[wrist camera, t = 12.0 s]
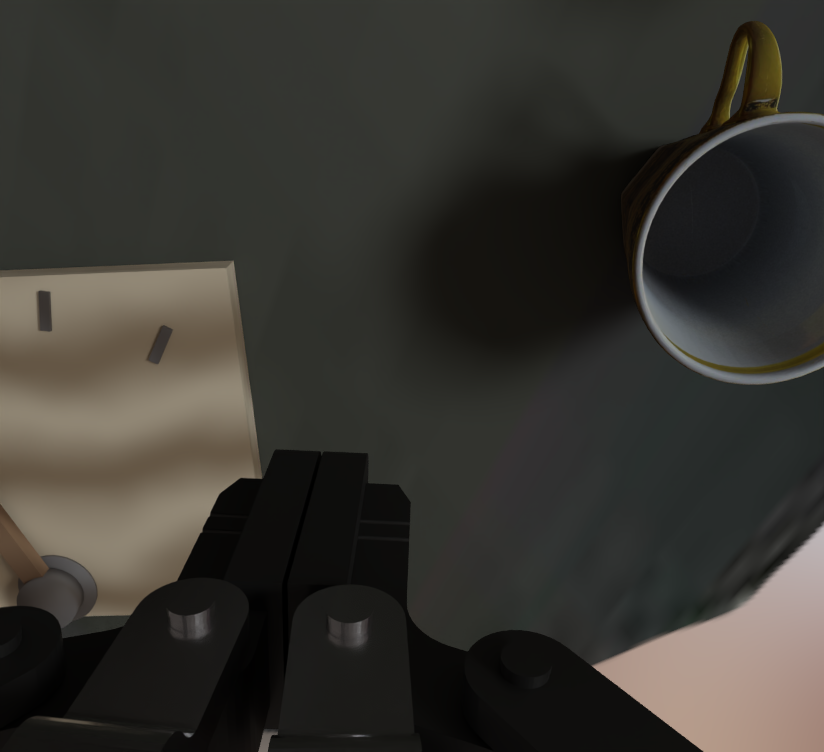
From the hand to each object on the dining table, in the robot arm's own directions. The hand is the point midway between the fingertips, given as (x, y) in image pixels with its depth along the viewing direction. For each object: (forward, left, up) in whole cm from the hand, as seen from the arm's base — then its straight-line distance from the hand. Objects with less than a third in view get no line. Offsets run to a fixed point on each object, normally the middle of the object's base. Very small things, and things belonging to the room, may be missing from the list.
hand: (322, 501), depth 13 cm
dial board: (+12, -20, -27) cm, 36 cm away
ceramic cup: (-1, +14, -27) cm, 31 cm away
